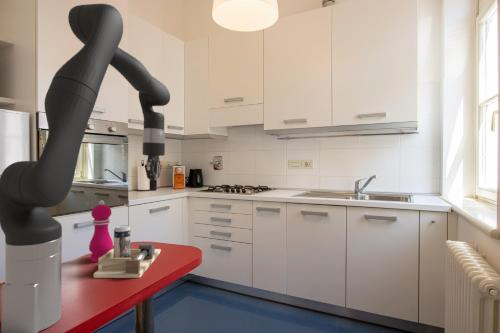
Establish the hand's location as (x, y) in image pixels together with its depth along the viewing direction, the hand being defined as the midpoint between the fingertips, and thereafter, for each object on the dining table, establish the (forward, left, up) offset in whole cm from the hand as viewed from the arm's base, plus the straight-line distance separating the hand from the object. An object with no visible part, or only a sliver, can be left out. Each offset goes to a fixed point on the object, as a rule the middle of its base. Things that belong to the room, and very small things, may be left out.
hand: (153, 190), depth 102 cm
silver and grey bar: (-12, 0, -21) cm, 24 cm away
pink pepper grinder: (-5, +16, -23) cm, 28 cm away
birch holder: (-9, +4, -23) cm, 25 cm away
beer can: (-14, +5, -22) cm, 26 cm away
